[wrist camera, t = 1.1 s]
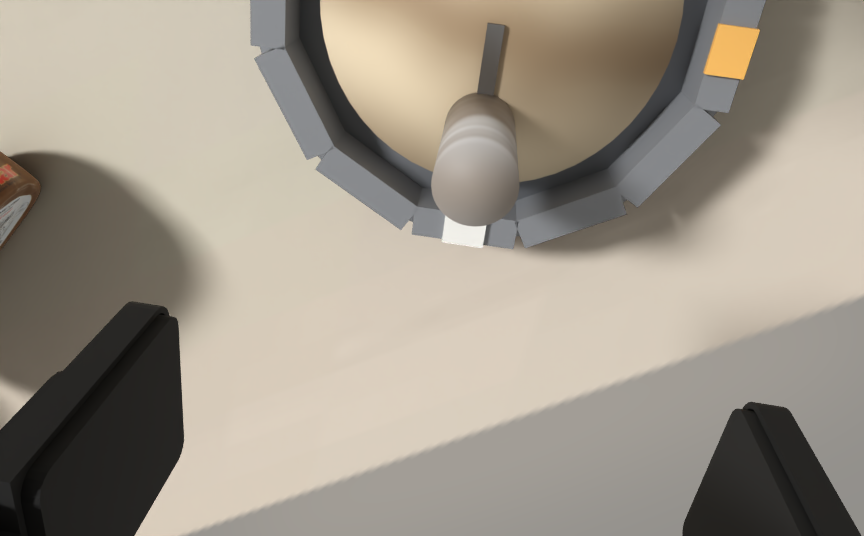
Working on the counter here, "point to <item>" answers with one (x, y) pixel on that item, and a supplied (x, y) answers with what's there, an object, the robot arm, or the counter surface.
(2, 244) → the tin
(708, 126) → the dial housing
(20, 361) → the counter surface
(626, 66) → the dial
